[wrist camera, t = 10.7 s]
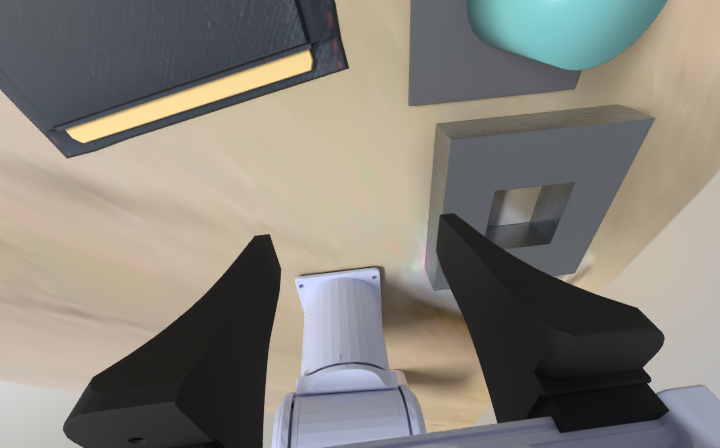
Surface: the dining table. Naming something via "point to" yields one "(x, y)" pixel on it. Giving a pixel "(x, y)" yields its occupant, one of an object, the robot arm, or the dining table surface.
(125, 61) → the grey book
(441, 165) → the housing
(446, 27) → the mat
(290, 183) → the dining table surface
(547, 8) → the end cap
